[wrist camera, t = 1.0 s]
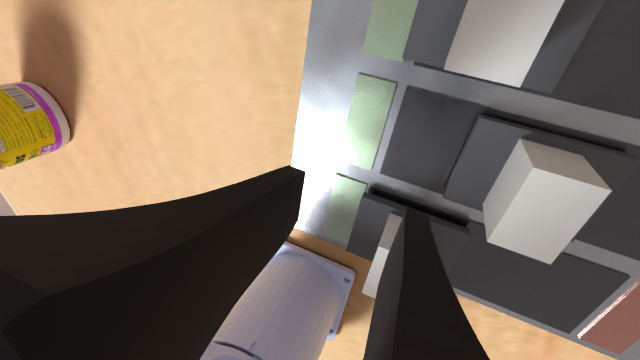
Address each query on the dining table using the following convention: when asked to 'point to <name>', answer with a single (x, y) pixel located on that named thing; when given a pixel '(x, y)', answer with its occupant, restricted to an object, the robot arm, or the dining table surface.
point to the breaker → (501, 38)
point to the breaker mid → (534, 185)
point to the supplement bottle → (29, 123)
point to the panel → (447, 145)
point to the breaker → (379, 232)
